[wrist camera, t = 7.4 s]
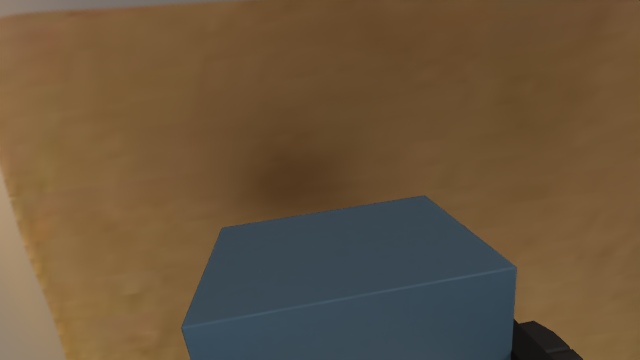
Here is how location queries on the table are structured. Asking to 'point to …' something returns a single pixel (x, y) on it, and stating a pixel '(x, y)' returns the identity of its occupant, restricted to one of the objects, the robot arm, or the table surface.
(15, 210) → the table surface
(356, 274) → the blue block
